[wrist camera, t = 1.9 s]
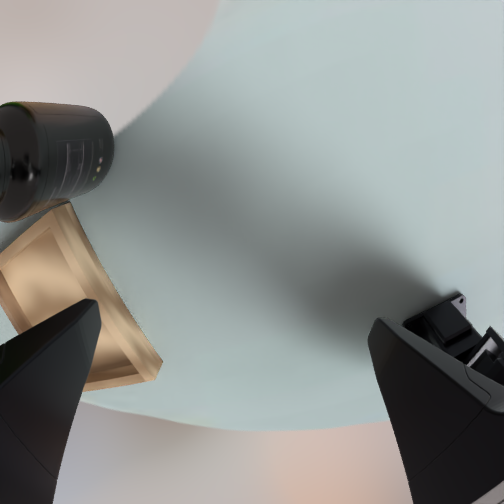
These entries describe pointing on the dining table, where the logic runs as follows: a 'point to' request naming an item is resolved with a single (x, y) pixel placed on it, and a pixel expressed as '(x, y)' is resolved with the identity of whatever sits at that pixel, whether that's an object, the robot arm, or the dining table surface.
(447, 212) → the dining table surface
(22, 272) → the oak tray
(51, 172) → the supplement bottle
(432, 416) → the robot arm
